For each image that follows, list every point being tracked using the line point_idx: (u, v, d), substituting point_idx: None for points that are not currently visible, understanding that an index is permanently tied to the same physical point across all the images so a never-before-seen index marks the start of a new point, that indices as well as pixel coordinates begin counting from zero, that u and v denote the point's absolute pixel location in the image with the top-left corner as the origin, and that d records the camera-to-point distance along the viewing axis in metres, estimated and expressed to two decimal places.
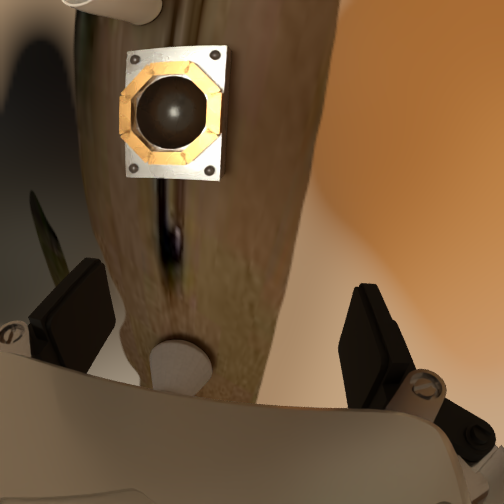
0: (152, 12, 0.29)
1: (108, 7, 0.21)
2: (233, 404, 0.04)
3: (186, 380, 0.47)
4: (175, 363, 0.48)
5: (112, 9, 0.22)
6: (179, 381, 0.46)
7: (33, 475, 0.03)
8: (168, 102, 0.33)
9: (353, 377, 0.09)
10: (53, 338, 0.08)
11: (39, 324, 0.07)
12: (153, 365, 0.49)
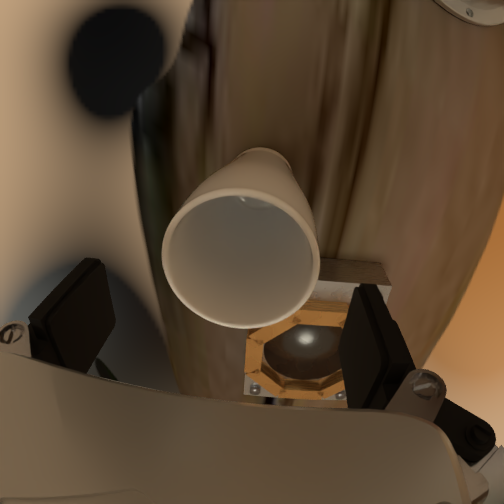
0: None
1: None
2: (233, 404, 0.04)
3: None
4: None
5: None
6: None
7: (33, 475, 0.03)
8: (307, 340, 0.29)
9: (353, 377, 0.09)
10: (53, 338, 0.08)
11: (39, 324, 0.07)
12: None
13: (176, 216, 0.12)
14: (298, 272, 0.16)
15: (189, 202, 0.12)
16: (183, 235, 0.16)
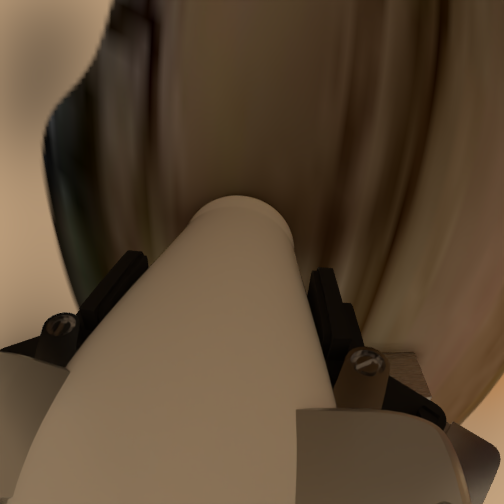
0: None
1: None
2: None
3: None
4: None
5: None
6: None
7: None
8: None
9: None
10: None
11: (91, 315, 0.08)
12: None
13: None
14: None
15: None
16: None
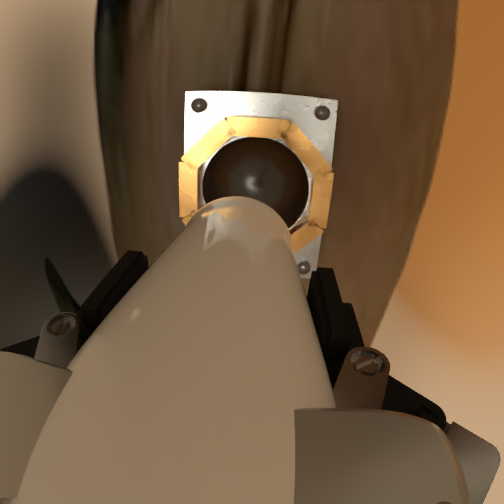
0: None
1: None
2: None
3: None
4: None
5: None
6: None
7: None
8: (251, 174, 0.25)
9: None
10: None
11: (92, 315, 0.08)
12: None
13: None
14: None
15: None
16: None
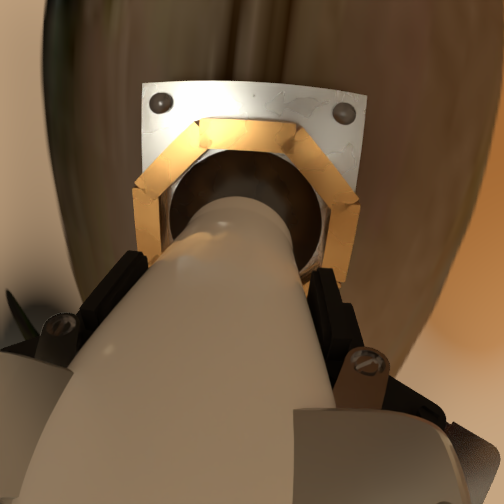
0: None
1: None
2: None
3: None
4: None
5: None
6: None
7: None
8: None
9: None
10: None
11: (91, 315, 0.08)
12: None
13: None
14: None
15: None
16: None
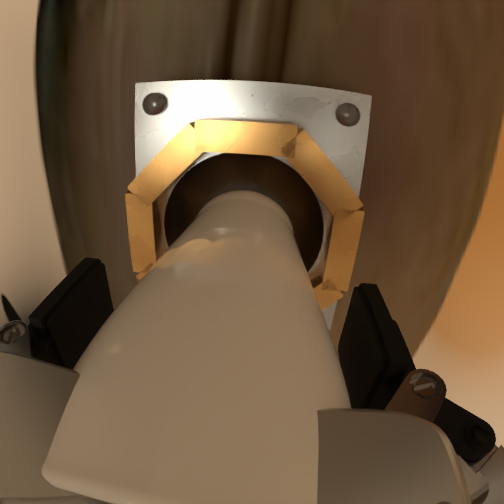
0: None
1: None
2: None
3: None
4: None
5: None
6: None
7: (33, 475, 0.03)
8: None
9: (353, 377, 0.09)
10: (53, 338, 0.08)
11: (39, 324, 0.07)
12: None
13: None
14: None
15: None
16: None
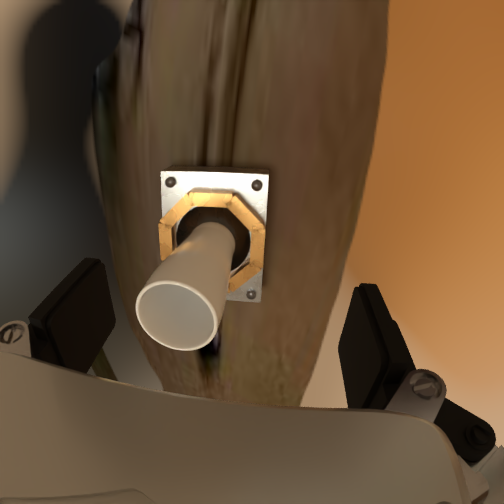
0: None
1: None
2: (233, 404, 0.04)
3: None
4: None
5: None
6: None
7: (33, 475, 0.03)
8: None
9: (353, 377, 0.09)
10: (53, 338, 0.08)
11: (39, 324, 0.07)
12: None
13: (142, 290, 0.23)
14: None
15: (149, 284, 0.22)
16: (149, 293, 0.26)
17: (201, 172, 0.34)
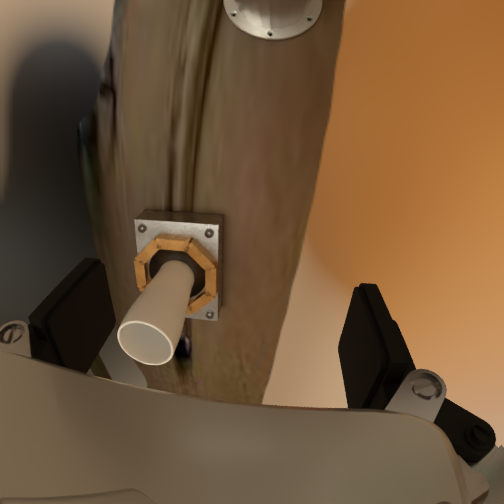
0: None
1: None
2: (233, 404, 0.04)
3: None
4: None
5: None
6: None
7: (33, 475, 0.03)
8: None
9: (353, 377, 0.09)
10: (53, 338, 0.08)
11: (39, 324, 0.07)
12: None
13: (121, 325, 0.31)
14: None
15: (125, 322, 0.31)
16: (127, 323, 0.35)
17: (165, 221, 0.42)
